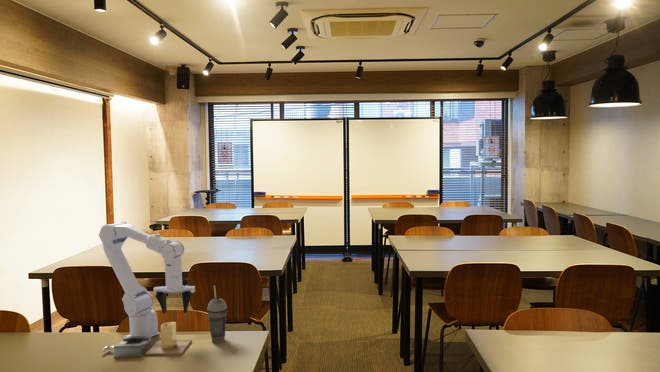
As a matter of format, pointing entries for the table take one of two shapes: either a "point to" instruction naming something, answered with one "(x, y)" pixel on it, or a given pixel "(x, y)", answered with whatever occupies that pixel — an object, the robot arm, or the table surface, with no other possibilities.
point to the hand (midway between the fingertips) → (175, 312)
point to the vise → (131, 346)
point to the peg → (168, 335)
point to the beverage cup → (217, 318)
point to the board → (177, 350)
